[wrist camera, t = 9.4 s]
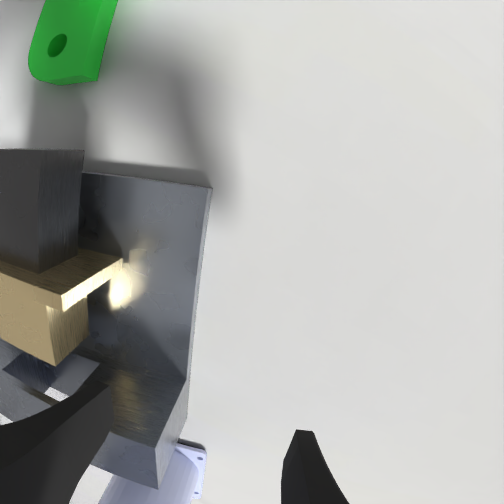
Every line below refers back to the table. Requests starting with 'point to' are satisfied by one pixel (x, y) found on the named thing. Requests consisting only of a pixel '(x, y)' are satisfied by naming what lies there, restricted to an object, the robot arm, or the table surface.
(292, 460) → the robot arm
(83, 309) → the grey and tan block
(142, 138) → the table surface
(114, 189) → the block
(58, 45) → the mechanical part
